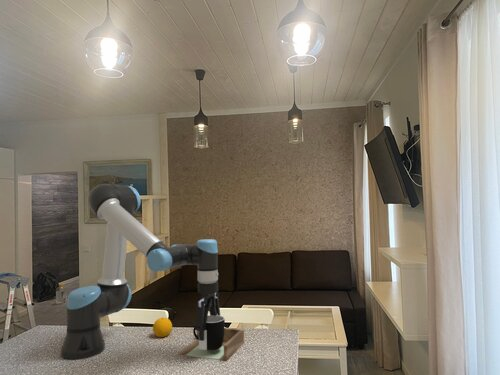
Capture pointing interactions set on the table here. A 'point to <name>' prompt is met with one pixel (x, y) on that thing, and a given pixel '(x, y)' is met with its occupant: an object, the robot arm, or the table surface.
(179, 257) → the robot arm
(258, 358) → the table surface
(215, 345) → the mug
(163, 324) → the yellow orange fruit
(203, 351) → the pad
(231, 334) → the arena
